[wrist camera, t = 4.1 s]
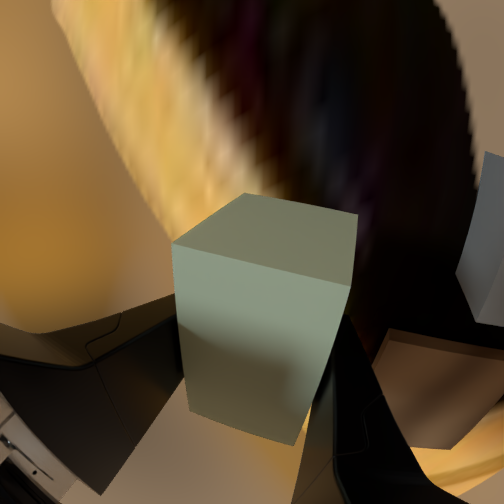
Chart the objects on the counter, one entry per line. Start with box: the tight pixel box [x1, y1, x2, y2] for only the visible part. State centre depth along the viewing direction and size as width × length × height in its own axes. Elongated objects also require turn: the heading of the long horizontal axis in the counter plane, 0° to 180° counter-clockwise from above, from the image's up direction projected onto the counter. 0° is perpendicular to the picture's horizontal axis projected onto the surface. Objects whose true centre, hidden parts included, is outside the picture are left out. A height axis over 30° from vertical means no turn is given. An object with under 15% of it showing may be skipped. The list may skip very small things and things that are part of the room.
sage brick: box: [171, 193, 358, 446], centre depth 8 cm, size 4×6×4 cm, turn 175°
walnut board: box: [372, 328, 504, 450], centre depth 15 cm, size 10×10×1 cm
